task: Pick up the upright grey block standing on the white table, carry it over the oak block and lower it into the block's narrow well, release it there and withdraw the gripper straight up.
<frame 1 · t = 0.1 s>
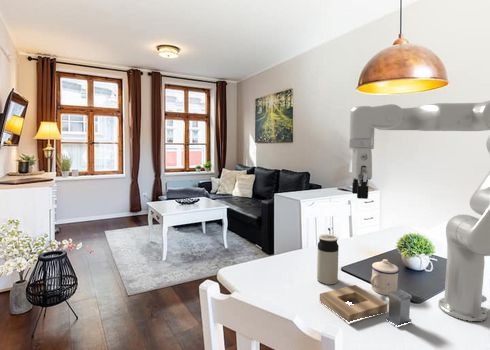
hand: (359, 195, 96), 37 cm above the table, tool pointing down, fingers open, 9 cm apart
travel mug: (327, 280, 116), on the table
upright grey block: (398, 322, 88), on the table
well block: (352, 307, 96), on the table
teacup with lid: (381, 291, 107), on the table
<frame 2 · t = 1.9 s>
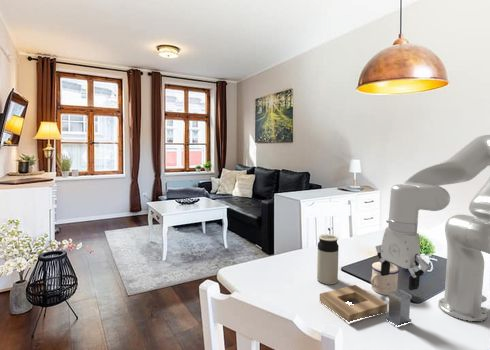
hand: (398, 281, 87), 13 cm above the table, tool pointing down, fingers open, 9 cm apart
nothing on the table moved.
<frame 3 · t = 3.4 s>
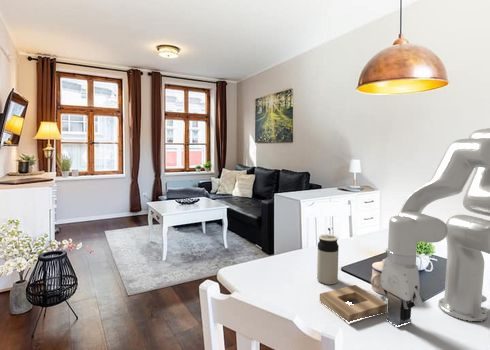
hand: (398, 314, 88), 2 cm above the table, tool pointing down, fingers closed on upright grey block, 4 cm apart
upright grey block: (398, 321, 88), on the table, touching gripper
everything else where it was.
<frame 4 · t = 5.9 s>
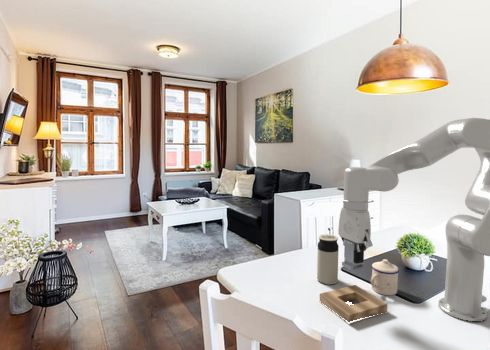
hand: (353, 259, 95), 17 cm above the table, tool pointing down, fingers closed on upright grey block, 4 cm apart
upright grey block: (353, 266, 95), point 14 cm above the table, touching gripper
everything else where it was.
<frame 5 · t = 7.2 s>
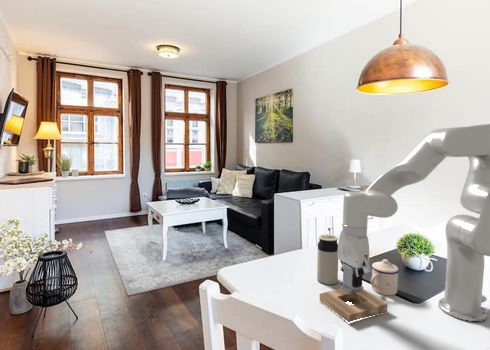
hand: (352, 283, 96), 8 cm above the table, tool pointing down, fingers closed on upright grey block, 4 cm apart
upright grey block: (351, 289, 96), point 6 cm above the table, touching gripper
everything else where it was.
when the fingers open (4 cm above the table, at t = 8.4 s): upright grey block drops 1 cm, resting on well block.
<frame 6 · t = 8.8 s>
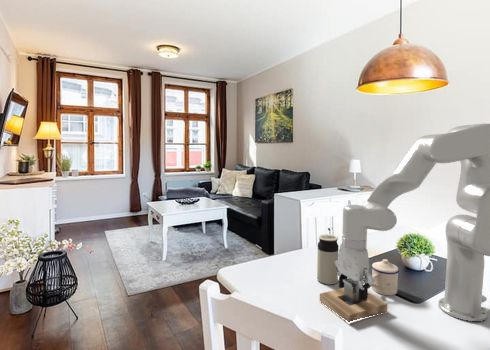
hand: (352, 293, 96), 5 cm above the table, tool pointing down, fingers open, 8 cm apart
upright grey block: (352, 306, 96), resting on well block
everything else where it was.
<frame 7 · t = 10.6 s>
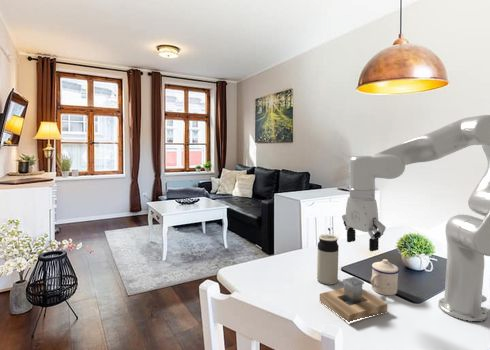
hand: (362, 245, 94), 21 cm above the table, tool pointing down, fingers open, 9 cm apart
nothing on the table moved.
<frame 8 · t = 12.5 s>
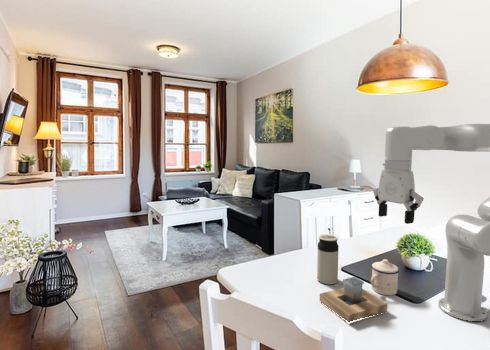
hand: (395, 219, 92), 30 cm above the table, tool pointing down, fingers open, 9 cm apart
nothing on the table moved.
at the end: upright grey block 0.1 cm off-centre on the well block, point 0.3 cm above the well block's base; upright grey block tilted 0°; the gripper is holding nothing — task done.
